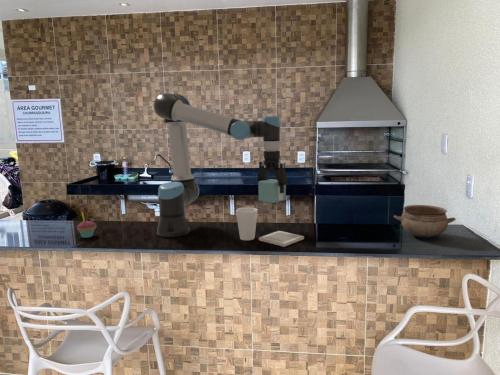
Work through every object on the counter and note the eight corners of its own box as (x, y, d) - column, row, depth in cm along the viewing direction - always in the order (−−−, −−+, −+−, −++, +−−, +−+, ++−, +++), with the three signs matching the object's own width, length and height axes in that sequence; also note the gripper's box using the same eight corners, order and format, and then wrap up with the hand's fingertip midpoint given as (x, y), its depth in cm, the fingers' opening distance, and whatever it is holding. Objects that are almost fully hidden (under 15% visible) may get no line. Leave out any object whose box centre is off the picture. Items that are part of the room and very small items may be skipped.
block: (258, 200, 188) (258, 181, 187) (270, 197, 195) (270, 179, 193) (273, 203, 182) (273, 183, 181) (285, 199, 189) (285, 180, 187)
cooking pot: (394, 241, 171) (396, 213, 169) (391, 229, 189) (392, 203, 187) (459, 244, 165) (461, 215, 163) (449, 231, 183) (451, 205, 181)
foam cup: (232, 238, 181) (231, 209, 178) (248, 233, 186) (247, 206, 184) (246, 242, 173) (245, 213, 171) (262, 238, 179) (261, 209, 177)
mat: (258, 240, 177) (258, 237, 176) (279, 233, 187) (279, 230, 186) (284, 246, 167) (284, 243, 167) (303, 238, 177) (303, 236, 177)
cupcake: (73, 238, 186) (71, 212, 183) (86, 233, 193) (83, 208, 191) (89, 239, 183) (86, 213, 181) (101, 234, 191) (99, 209, 189)
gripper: (295, 150, 180) (295, 200, 184) (259, 148, 194) (259, 194, 198) (285, 152, 174) (285, 202, 178) (248, 149, 189) (249, 197, 193)
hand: (272, 198), depth 188 cm, fingers closed on block, 9 cm apart
